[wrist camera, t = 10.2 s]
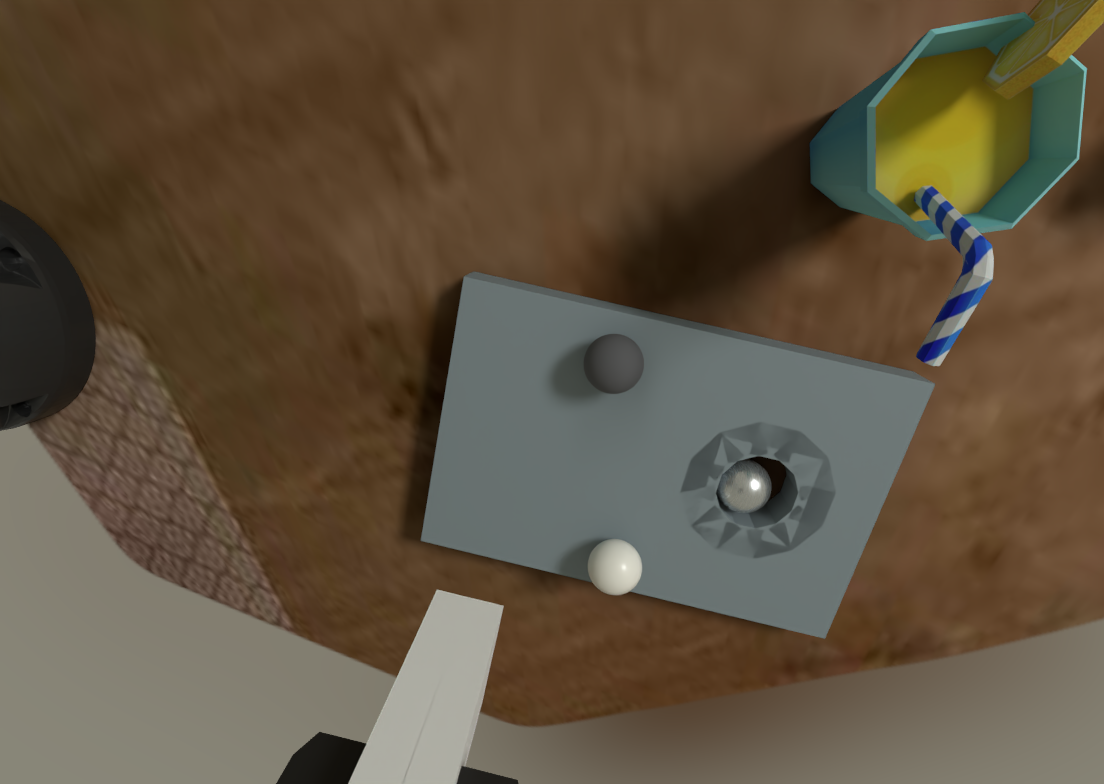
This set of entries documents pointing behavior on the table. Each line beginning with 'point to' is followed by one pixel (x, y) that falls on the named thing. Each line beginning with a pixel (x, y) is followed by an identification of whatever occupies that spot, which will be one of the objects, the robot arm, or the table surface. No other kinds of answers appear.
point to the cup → (963, 138)
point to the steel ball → (744, 487)
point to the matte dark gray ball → (613, 363)
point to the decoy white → (614, 567)
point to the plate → (663, 452)
